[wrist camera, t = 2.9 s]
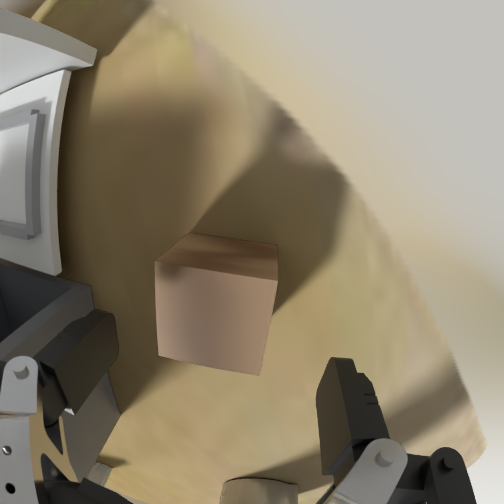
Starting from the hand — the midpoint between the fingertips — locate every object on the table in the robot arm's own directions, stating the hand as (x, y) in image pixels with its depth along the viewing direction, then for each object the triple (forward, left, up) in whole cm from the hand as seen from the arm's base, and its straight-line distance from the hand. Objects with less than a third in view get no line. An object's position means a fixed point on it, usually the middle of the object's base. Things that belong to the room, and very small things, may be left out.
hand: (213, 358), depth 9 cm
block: (+1, 0, -7) cm, 7 cm away
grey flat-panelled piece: (+18, -6, -6) cm, 20 cm away
